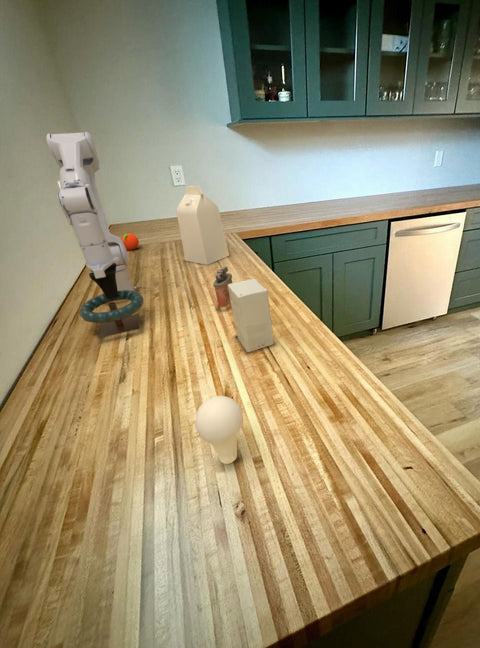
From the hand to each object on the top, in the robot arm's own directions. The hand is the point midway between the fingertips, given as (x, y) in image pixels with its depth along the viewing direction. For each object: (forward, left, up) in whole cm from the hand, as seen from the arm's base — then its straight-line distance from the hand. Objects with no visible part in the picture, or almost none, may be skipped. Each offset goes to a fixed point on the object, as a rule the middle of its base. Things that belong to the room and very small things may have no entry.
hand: (112, 295), depth 85 cm
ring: (+6, 0, 0) cm, 6 cm away
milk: (-39, +30, -7) cm, 50 cm away
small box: (+28, +28, -7) cm, 40 cm away
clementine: (-71, +3, -7) cm, 72 cm away
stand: (+6, 0, -7) cm, 9 cm away
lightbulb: (+57, +15, -7) cm, 59 cm away
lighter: (+6, +27, -7) cm, 28 cm away
